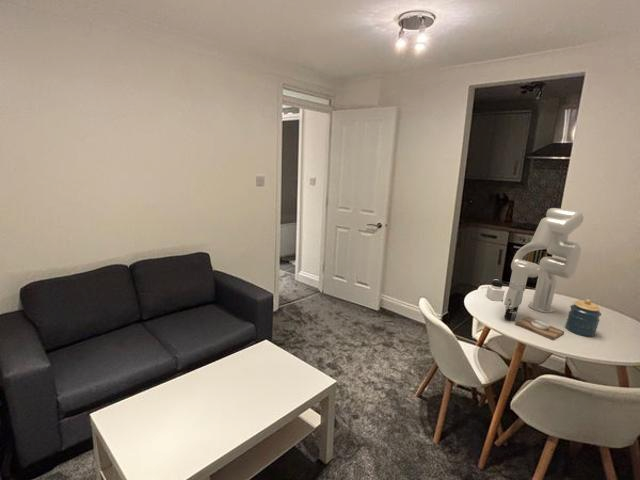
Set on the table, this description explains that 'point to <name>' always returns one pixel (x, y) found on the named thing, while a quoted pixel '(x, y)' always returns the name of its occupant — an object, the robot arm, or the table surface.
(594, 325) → the canister
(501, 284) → the medicine bottle
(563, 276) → the robot arm
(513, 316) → the camera lens
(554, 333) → the board
